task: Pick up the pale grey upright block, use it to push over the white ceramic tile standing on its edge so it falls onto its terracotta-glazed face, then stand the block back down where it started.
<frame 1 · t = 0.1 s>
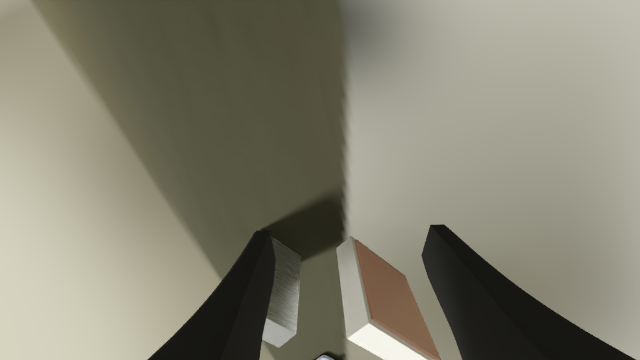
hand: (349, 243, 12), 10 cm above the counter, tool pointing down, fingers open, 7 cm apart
pale grey upright block: (275, 249, 25), on the counter
tile: (371, 262, 26), on the counter
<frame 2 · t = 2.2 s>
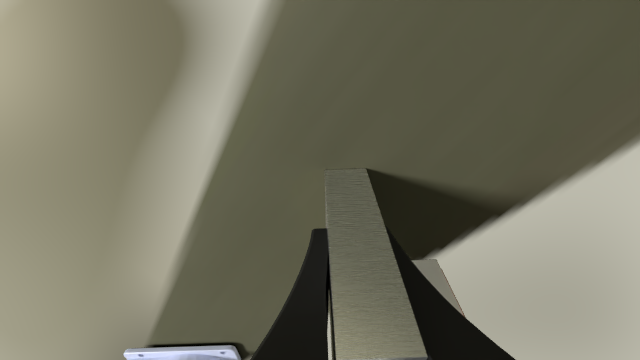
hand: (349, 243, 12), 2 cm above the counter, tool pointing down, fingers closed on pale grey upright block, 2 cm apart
pale grey upright block: (344, 208, 14), on the counter, touching gripper
tile: (410, 295, 18), on the counter
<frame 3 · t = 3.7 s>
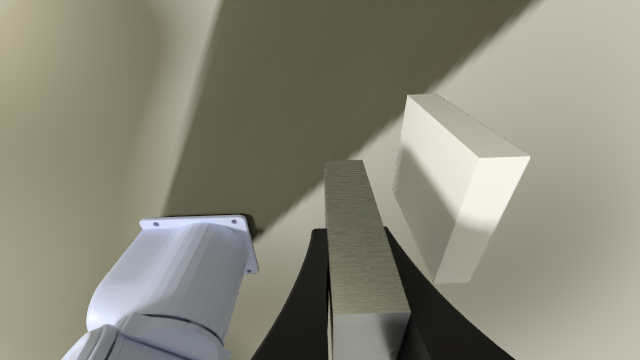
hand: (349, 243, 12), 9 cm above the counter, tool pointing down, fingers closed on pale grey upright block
pale grey upright block: (342, 198, 14), point 6 cm above the counter, touching gripper
tile: (411, 147, 19), on the counter
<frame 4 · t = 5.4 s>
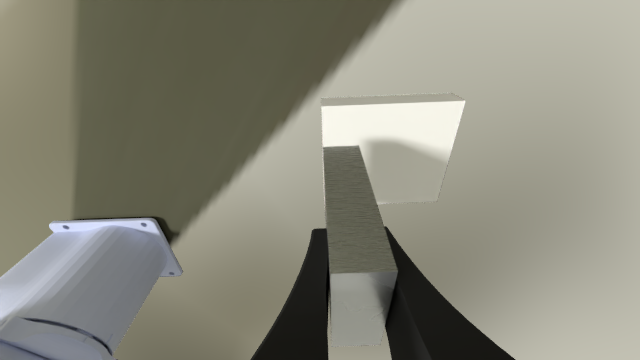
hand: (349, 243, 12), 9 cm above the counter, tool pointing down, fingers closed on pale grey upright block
pale grey upright block: (340, 182, 15), point 5 cm above the counter, touching gripper
tile: (322, 155, 19), point 1 cm above the counter, tilted 90°
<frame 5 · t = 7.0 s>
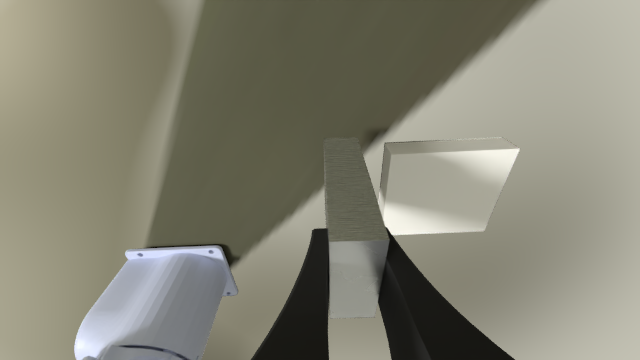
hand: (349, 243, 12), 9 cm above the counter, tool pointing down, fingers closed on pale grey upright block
pale grey upright block: (339, 173, 16), point 4 cm above the counter, touching gripper
tile: (382, 192, 21), point 1 cm above the counter, tilted 90°
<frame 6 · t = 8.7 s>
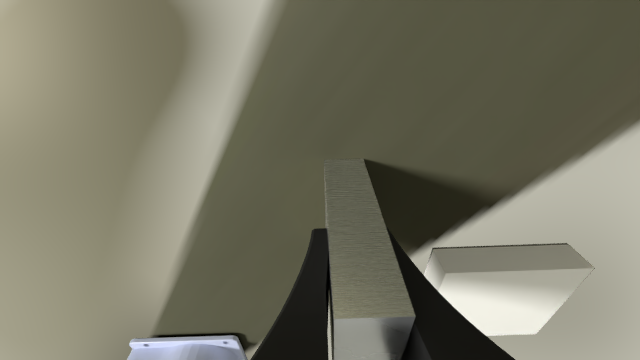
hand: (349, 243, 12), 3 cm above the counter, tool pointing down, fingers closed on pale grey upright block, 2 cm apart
pale grey upright block: (342, 198, 14), on the counter, touching gripper
tile: (425, 296, 18), point 1 cm above the counter, tilted 90°
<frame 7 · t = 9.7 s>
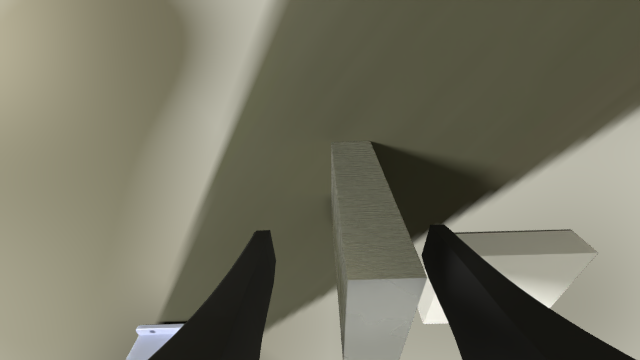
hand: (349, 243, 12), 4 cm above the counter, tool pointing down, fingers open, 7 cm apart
pale grey upright block: (348, 181, 14), on the counter
tile: (429, 281, 18), point 1 cm above the counter, tilted 90°
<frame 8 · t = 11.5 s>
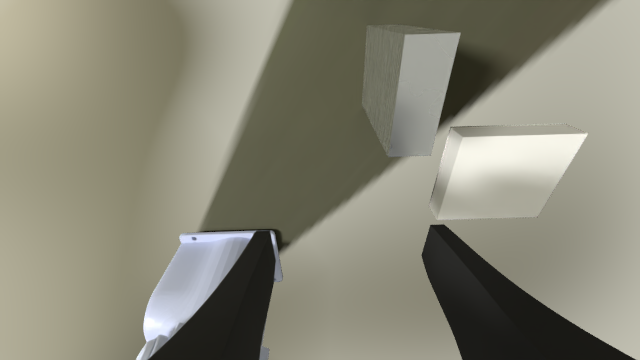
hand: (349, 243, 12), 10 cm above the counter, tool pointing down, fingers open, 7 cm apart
pale grey upright block: (378, 68, 17), on the counter
tile: (443, 176, 21), point 1 cm above the counter, tilted 90°
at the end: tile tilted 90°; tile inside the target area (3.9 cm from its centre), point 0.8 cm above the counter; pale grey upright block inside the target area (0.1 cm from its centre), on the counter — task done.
